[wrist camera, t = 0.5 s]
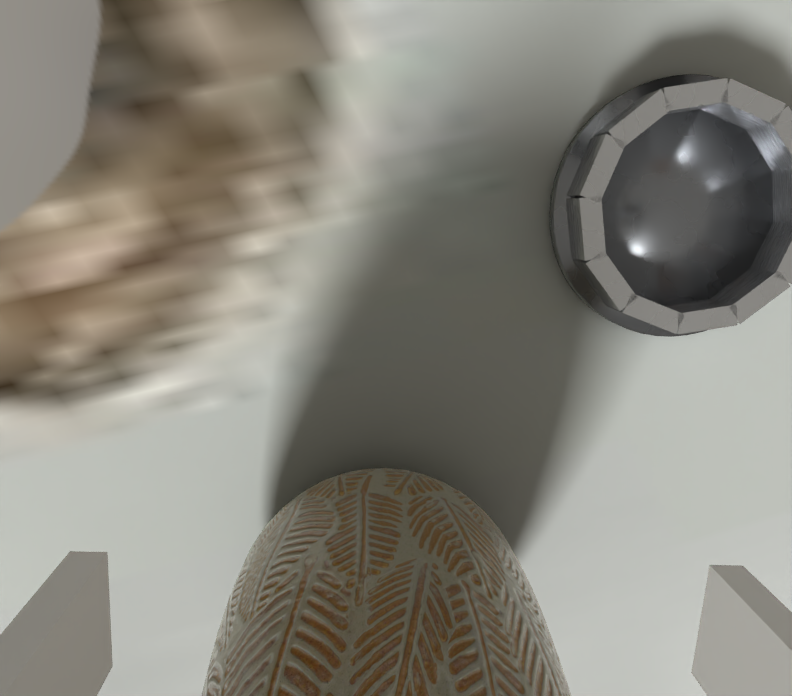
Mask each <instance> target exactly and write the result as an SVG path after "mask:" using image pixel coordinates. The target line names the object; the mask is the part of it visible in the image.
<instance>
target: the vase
mask: <svg viewBox="0 0 792 696" xmlns="http://www.w3.org/2000/svg"><path fill="white" fill-rule="evenodd" d="M202 696H571V693H570V690H569V687H568V684H567V681H566V678H565V675H564V672H563V669H562V666H561V663H560V660H559V657H558V654H557V652H556V649H555V646H554V643H553V641H552V638H551V635H550V632H549V630H548V627H547V624H546V622H545V619H544V616H543V614H542V611H541V609H540V606H539V604H538V601H537V599H536V597H535V594H534V592H533V590H532V587H531V585H530V583H529V581H528V579H527V577H526V575H525V573H524V571H523V569H522V567H521V565H520V563H519V561H518V559H517V557H516V555H515V554H514V552H513V550H512V548H511V547H510V545H509V543H508V542H507V540H506V538H505V536H504V535H503V533H502V531H501V530H500V529H499V528H498V526H497V525H496V524H495V523H494V522H493V520H492V519H491V518H490V517H489V516H488V514H487V513H486V512H485V511H484V510H483V509H482V508H480V507H479V506H478V505H477V504H476V503H475V502H473V501H472V500H471V499H470V498H469V497H468V496H466V495H465V494H463V493H462V492H460V491H458V490H457V489H455V488H453V487H452V486H450V485H449V484H447V483H445V482H442V481H440V480H437V479H435V478H432V477H430V476H428V475H425V474H421V473H417V472H413V471H409V470H404V469H393V468H372V469H361V470H356V471H351V472H346V473H342V474H339V475H337V476H334V477H331V478H329V479H326V480H323V481H321V482H319V483H318V484H316V485H314V486H312V487H310V488H309V489H307V490H305V491H303V492H302V493H300V494H299V495H298V496H296V497H295V498H294V499H293V500H291V501H290V502H289V503H287V504H286V505H285V506H284V507H283V508H282V509H281V510H280V511H279V512H278V513H277V514H276V515H275V516H274V517H273V518H272V519H271V520H270V521H269V522H268V524H267V525H266V526H265V527H264V529H263V530H262V532H261V533H260V535H259V536H258V538H257V539H256V541H255V542H254V544H253V545H252V547H251V549H250V551H249V553H248V555H247V558H246V560H245V562H244V564H243V566H242V569H241V571H240V573H239V575H238V578H237V580H236V583H235V585H234V588H233V590H232V593H231V595H230V598H229V601H228V604H227V606H226V609H225V612H224V615H223V618H222V621H221V624H220V628H219V631H218V634H217V638H216V641H215V645H214V649H213V652H212V656H211V660H210V664H209V668H208V672H207V676H206V680H205V684H204V688H203V692H202Z"/></svg>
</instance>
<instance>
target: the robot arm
mask: <svg viewBox="0 0 792 696" xmlns="http://www.w3.org/2000/svg"><path fill="white" fill-rule="evenodd" d="M111 668H112V645H111V623H110V600H109V578H108V555H107V552H73V551H70V552H69V553H68V555H67V556H66V557H65V558H64V559H63V561H62V562H61V563H60V564H59V565H58V567H57V568H56V569H55V570H54V571H53V573H52V574H51V575H50V576H49V577H48V579H47V580H46V581H45V582H44V583H43V585H42V586H41V587H40V588H39V589H38V591H37V592H36V593H35V594H34V595H33V597H32V598H31V599H30V600H29V601H28V603H27V604H26V605H25V606H24V607H23V609H22V610H21V611H20V612H19V613H18V615H17V616H16V617H15V618H14V619H13V621H12V622H11V623H10V624H9V625H8V627H7V628H6V629H5V630H4V631H3V633H2V634H1V635H0V696H97V694H98V692H99V690H100V689H101V687H102V685H103V683H104V681H105V679H106V677H107V675H108V674H109V672H110V670H111ZM691 673H692V674H693V676H694V677H695V679H696V680H697V681H698V683H699V684H700V686H701V687H702V689H703V690H704V691H705V693H706V694H707V696H792V612H791V611H790V610H789V609H788V608H786V607H785V606H784V605H783V604H782V603H781V602H780V601H779V600H778V599H777V598H776V597H775V596H774V595H773V594H772V593H771V592H770V591H769V590H768V589H767V588H766V587H765V586H763V585H762V584H761V583H760V582H759V581H758V580H757V579H756V578H755V577H754V576H753V575H752V574H751V573H750V572H749V571H748V570H747V569H746V568H745V567H744V566H731V565H710V566H709V572H708V578H707V584H706V590H705V596H704V601H703V607H702V613H701V619H700V625H699V631H698V637H697V643H696V649H695V655H694V661H693V667H692V672H691Z"/></svg>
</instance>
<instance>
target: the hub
mask: <svg viewBox="0 0 792 696" xmlns="http://www.w3.org/2000/svg"><path fill="white" fill-rule="evenodd" d="M785 105H786V103H784V102H782V101H779V100H777V99H775V98H773V97H771V96H768V95H766V94H764V93H762V92H760V91H757V90H755V89H753V88H751V87H749V86H746V85H744V84H742V83H740V82H738V81H736V80H733V79H731V78H730V79H727V78H723V79H722V78H717V77H712V76H708V75H692V74H689V75H677V76H670V77H666V78H661V79H657V80H654V81H651V82H648V83H646V84H643V85H640V86H638V87H636V88H633V89H631V90H629V91H628V92H626V93H624V94H622V95H620V96H618V97H616V98H615V99H614V100H612V101H611V102H609V103H608V104H606V105H605V106H604V107H602V108H601V109H600V110H599V111H598V112H597V113H596V114H595V115H594V116H593V117H591V118H590V119H589V120H588V122H587V123H586V124H585V125H584V126H583V127H582V129H581V130H580V131H579V132H578V134H577V135H576V137H575V138H574V140H573V141H572V143H571V144H570V146H569V147H568V149H567V151H566V153H565V155H564V157H563V159H562V161H561V163H560V166H559V169H558V172H557V175H556V177H555V181H554V185H553V190H552V194H551V203H550V232H551V238H552V244H553V248H554V252H555V255H556V258H557V261H558V264H559V266H560V268H561V270H562V272H563V275H564V276H565V278H566V280H567V281H568V283H569V284H570V286H571V287H572V289H573V290H574V291H575V293H576V294H577V295H578V296H579V297H580V298H581V300H582V301H583V302H584V303H586V304H587V305H588V306H589V307H590V308H591V309H592V310H593V311H595V312H596V313H598V314H599V315H601V316H602V317H604V318H605V319H607V320H609V321H611V322H614V323H616V324H618V325H620V326H622V327H624V328H626V329H629V330H633V331H636V332H639V333H643V334H649V335H654V336H682V335H690V334H694V333H699V332H703V331H706V330H709V329H715V328H722V327H728V326H734V325H737V323H740V324H741V323H742V322H743V321H745V320H746V319H747V318H749V317H750V316H751V315H753V314H754V313H755V312H757V311H758V310H759V309H761V308H762V307H763V306H765V305H766V304H767V303H769V302H770V301H771V300H773V299H774V298H775V297H777V296H778V295H779V294H781V293H782V292H783V291H785V290H786V289H787V288H789V287H790V285H789V284H788V283H791V284H792V111H791V109H790V107H789V106H785Z"/></svg>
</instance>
